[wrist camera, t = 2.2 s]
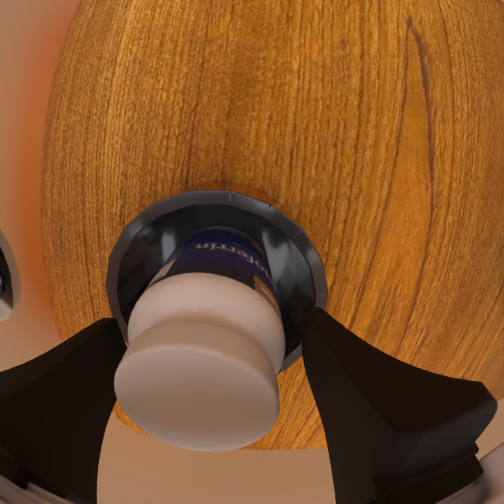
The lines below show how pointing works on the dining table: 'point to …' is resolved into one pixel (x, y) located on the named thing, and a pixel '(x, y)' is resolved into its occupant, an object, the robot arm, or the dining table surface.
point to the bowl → (228, 215)
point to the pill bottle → (205, 346)
